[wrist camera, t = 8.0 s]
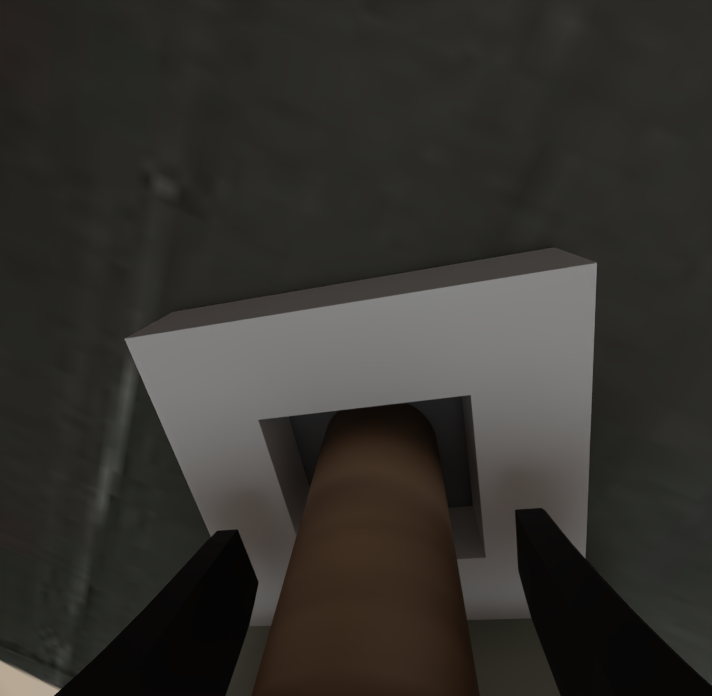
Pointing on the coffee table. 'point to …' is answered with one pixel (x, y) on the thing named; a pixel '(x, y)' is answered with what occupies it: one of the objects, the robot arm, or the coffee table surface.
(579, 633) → the robot arm
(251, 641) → the pink slab
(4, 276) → the coffee table surface
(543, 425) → the socket block
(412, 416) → the peg
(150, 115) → the coffee table surface
